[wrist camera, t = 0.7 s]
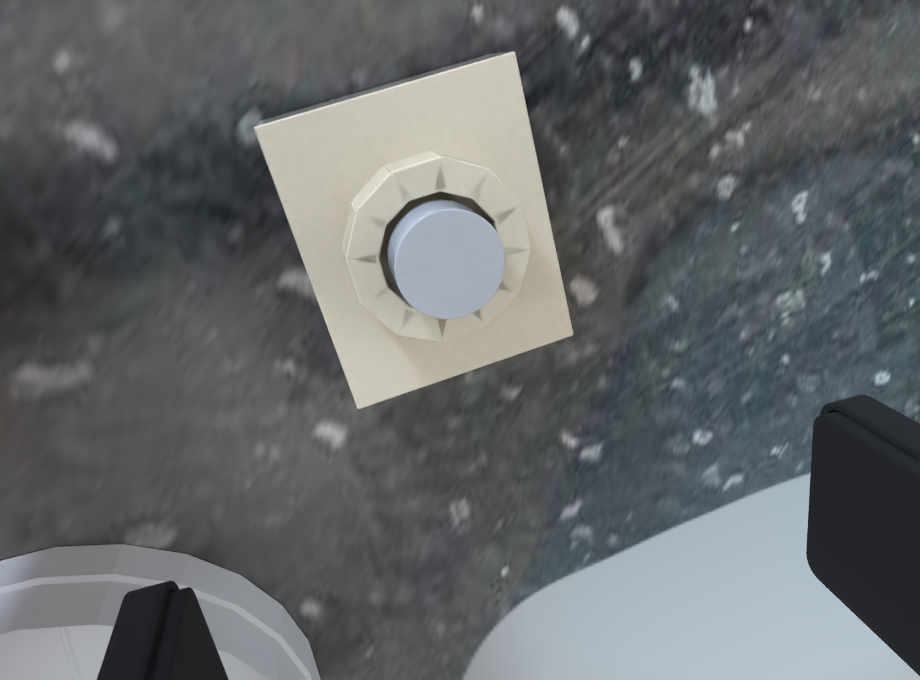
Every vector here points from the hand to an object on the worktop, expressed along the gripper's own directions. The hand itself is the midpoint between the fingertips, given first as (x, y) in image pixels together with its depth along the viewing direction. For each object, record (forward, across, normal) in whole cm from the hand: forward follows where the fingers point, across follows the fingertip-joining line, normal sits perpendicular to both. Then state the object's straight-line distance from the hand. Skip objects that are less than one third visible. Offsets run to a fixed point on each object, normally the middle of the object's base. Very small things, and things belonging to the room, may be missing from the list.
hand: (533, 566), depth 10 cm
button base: (+22, -2, 0) cm, 22 cm away
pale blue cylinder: (+17, -2, 0) cm, 17 cm away
